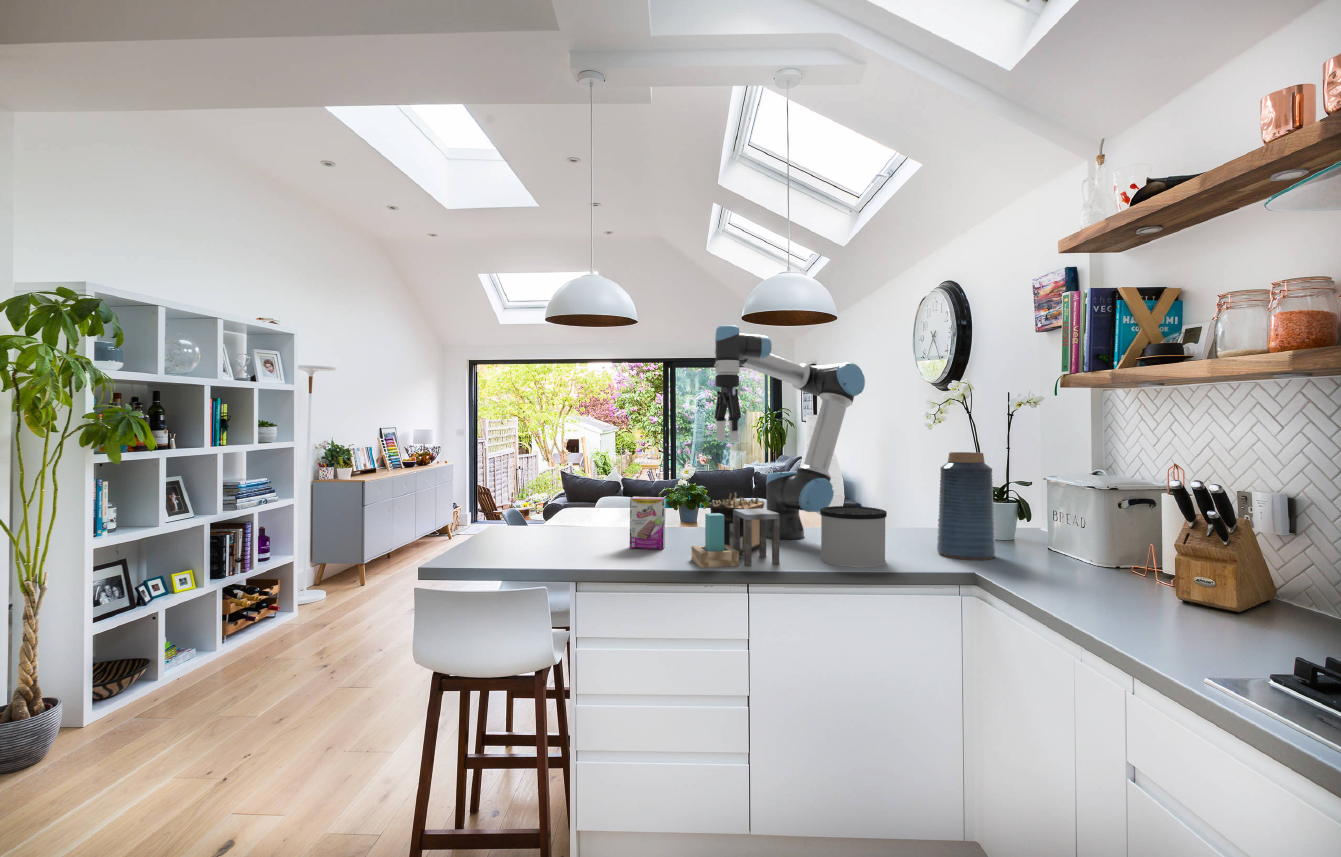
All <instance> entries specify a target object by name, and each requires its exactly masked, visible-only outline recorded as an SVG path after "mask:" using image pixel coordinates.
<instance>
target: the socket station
mask: <svg viewBox="0 0 1341 857" xmlns="http://www.w3.org/2000/svg"><path fill="white" fill-rule="evenodd" d="M740 518H743V519H744V555H743V556H744V557H743V562H744V563H743V564H744V566H746V567H749V566H750V567H751V566H752V552H751V543H752V520H759V549H758V550H759V551H758V552H759V553H758V554H759V555H758V556H759V557H760V558H767V537H766V519H772V538H771V564H772V565H776V566H777V565H780V539H779V513H776V512H773V511H770V510H767V508H763V509H733V548H732V547H730V546H728V545H724V551H707V552H706V551H705V545H692V546H691V561H693V562H694V563H695V564H696V565H698V567H700V568H718V567H719V568H722V567H739V564H740V563H739V561H740V558H741V556H740Z"/></svg>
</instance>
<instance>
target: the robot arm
mask: <svg viewBox="0 0 1341 857" xmlns="http://www.w3.org/2000/svg"><path fill="white" fill-rule="evenodd" d="M714 342H715V350H714V354H715V363H714V365H713V367H715V374H717V375H715V380H714V381H715V387H716V388H720V390H717V394H716V396H717V397H716V405H715V411H714V419H715V421H716V442H725V441H726V421H728V424H729V425H728V431H729V432H728V433H729V434H728V442H730V443H738V442H739V420H740V419H741V418H742V413H741V407H740V402H739V392H738V391H739V390H738V387H739V386H740V376H739V374H740V367H743V368H746V369H750V370H753V371H755V372H758V373H761V374H763V375H765V376H769V377H772V378H775V379H777V380H781V381H782V382H785V383H789V384H790V385H792V387H793V388H794V389H797V390H799V391H802V392H805V393H807V394H810V395H813V396H816V397H819V398H820V399H821V405H820V408H819V411H818V414H817V418H816V422H815V426H814V428H813V432H812V435H811V438H810V442H809V445H808V449H807V452H806V455H805V458H804V462H803V464H802V465H801V466H799V467H797V471H781V472H772V473H769V474H767V476H766V482H765V486H766V490H765V491H766V509H767V510H770V511H773V512H776V513H779V540H794V539H795V540H796V539H802V538H804V537H805V529H804V526H803V523H802V520H801V516H800V511H803V512H806V513H820V509H821V508H825V507H830V505H831V503H832V501H833V499H834V494H835V493H834V492H835V491H834V489H833V484H832V483H831V479H832V477H831V475H830V473H829V469H830V466H831V462H832V460H833V456H834V452H835V449H836V446H837V442H838V439H839V435H840V432H841V428H842V424H843V421H844V418H845V415H846V410H847V408H849V407H850V406H852V405H853V402H854V399H855V397H856V396H858V395H860V394H862V392H864V389H865V386H866V378H865V374H864V373H863V370H862V368H860V366H858V365H857V364H856V363H853V362H843V361H842V362H840V363H834V364H821V365H809V364H807V363H800V364H799V363H797V362H794V361H791V360H789V359H787V358H783V357H781V356H778V355H776V354H774V353H771V352H772V345H773V343H772V340H771V338H770V337H769V336H766V335H763V334H762V335H761V334H751V333H750V334H749V333H741V332H740V327H739V326H737V325H734V324H733V325H732V324H730V325H729V324H727V325H725V324H724V325H720V326H718V327H716V330H715V339H714ZM727 411H728V415H729V417H728V419H727V418H726V414H727ZM766 538H768V539H769V538H770V539H772V519H766Z"/></svg>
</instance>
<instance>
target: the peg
mask: <svg viewBox="0 0 1341 857" xmlns="http://www.w3.org/2000/svg"><path fill="white" fill-rule="evenodd" d="M704 515H705V520H704V521H705V527H704V528H705V530H704V531H705V532H704V536H705V538H704V542H705V543H704V546H705V551H706V552H707V551H724V515H723V514H721V513H711V512H710V513H705V514H704Z"/></svg>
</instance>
